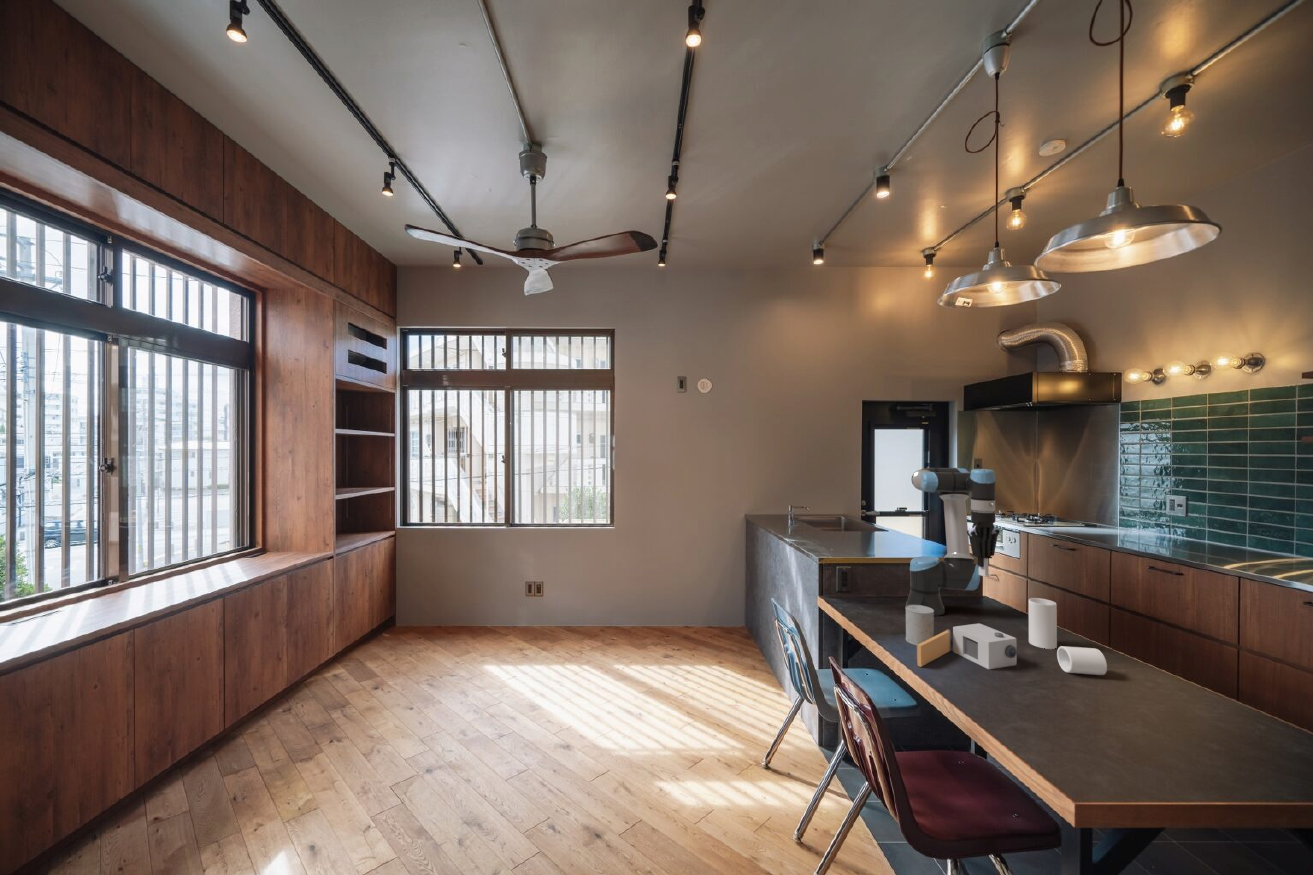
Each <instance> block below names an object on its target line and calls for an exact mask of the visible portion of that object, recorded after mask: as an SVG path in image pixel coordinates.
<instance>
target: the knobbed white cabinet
mask: <svg viewBox="0 0 1313 875" xmlns="http://www.w3.org/2000/svg"><path fill="white" fill-rule="evenodd" d="M952 650H953V651H952V652H953V653H955V654H956V655H959V656H961V657H963V658H965V659H967V660H968V661H971V662H973V663H975V664H977V665H978V666H981V667H983V668H985V669H987V670H993V669H1000V668H1005V667H1012V666H1017V637H1014V636H1012V635H1009V634H1007V633H1004V632H1002V631H1000V630H997V629H994V628H993V627H989V626H987V625H984V624H982V623H979V622H978V623H972V624H965V625H964V624H963V625H957V626H953V627H952Z"/></svg>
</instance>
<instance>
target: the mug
mask: <svg viewBox="0 0 1313 875" xmlns="http://www.w3.org/2000/svg"><path fill="white" fill-rule="evenodd" d="M1056 651H1057V652H1056V657H1057V658H1056V659H1057V661H1058V664H1059V667H1060V668H1061V670H1062V671H1064V673H1067V674H1079V675H1081V674H1082V675H1094V676H1104V675H1106V673H1107V671H1108V664H1107V660H1106V657H1105V655H1104V654H1103V653H1102V652H1101V650H1099V649H1098V648H1095V647H1093V648H1092V647H1080V646H1066V645H1065V646H1064V645H1063V646H1062V645H1060V646H1059V647H1057V650H1056Z"/></svg>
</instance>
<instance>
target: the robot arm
mask: <svg viewBox="0 0 1313 875" xmlns="http://www.w3.org/2000/svg"><path fill="white" fill-rule="evenodd" d="M910 479H911V483H912V485H913V487H914V488H915V489H917V490H918V491H921V492H924V493H925V492H926V493H934V494H939V498H940V499H941V500H942V501H943V512H944V526H945V527H944V528H945V539H946V552H947V553H946V554H945V555H944V557H943V560H940V558H939V557H937V556H931V555H930V556H929V555H927V556H925V555H923V556H916V557H913V558H912V559H911V560H910V563H909V565H910V566H909V574H910V576H909V580H910V582H909V588H910V590H909V594H908V597H907V600H906V601H905V607H906V606H907V605H922V606H926V607H929V608H931V609H933V610H934V617H935V616H936V617H937V616H942V615H944V614H945V612H946V611H945V605H944V604H943V600H942V596H941V594H940V593H941V591H940V590H941V589H948V590H959V591H975V590H977V589H978V588H979V585H980V581H981V577H989V567H990V559H993V557H995V552H996V547H997V541H998V537H999V534H1000V529H997V528H995V525H994V523H996V521H997V520H996V519H997V518H996V513H995V512H996V480H997V479H996V472H995V470H993V469H987V468H973V469H971V471H969V470H968V469H967V468H962V467H926V468H921V469H919V470H916V471H915V472H914V473H913V474H912V475H911V478H910ZM969 498H970V510H972V511H971V512H970V520H971V521H972V528H971V529H970V530H969V527H968V515H967V504H966V501H967V500H968V499H969ZM970 548H971V550H970ZM970 552H971V553H970ZM971 554H972V555H971ZM973 556H974V557H976V558H977V562H976V561H975V558H974V557H973Z"/></svg>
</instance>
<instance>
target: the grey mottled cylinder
mask: <svg viewBox="0 0 1313 875" xmlns="http://www.w3.org/2000/svg"><path fill="white" fill-rule="evenodd" d="M934 622H935V616H934V610H933V609H931V608H929V607H926V606H922V605H907V606H906V605H905V640H906V642H907V643H909V644H911V645H912V646H913V645H914V646H917V645H918V644H920V643H922V642H924V641H926V640H928V639H930V638H932V637H934V636H935V632H934V631H935V629H934V628H935V623H934Z"/></svg>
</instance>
